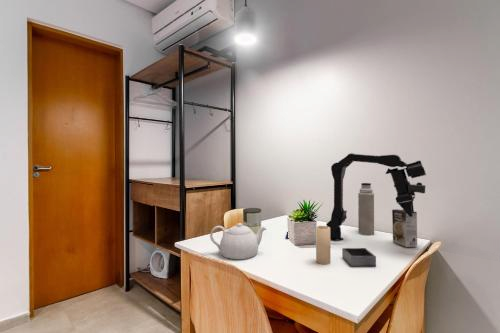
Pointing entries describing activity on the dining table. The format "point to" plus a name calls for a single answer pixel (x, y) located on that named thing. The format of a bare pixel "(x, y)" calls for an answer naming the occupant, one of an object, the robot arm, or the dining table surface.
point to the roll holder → (358, 257)
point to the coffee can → (252, 219)
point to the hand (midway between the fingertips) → (412, 214)
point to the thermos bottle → (366, 210)
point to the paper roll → (323, 245)
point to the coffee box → (404, 228)
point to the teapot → (238, 241)
